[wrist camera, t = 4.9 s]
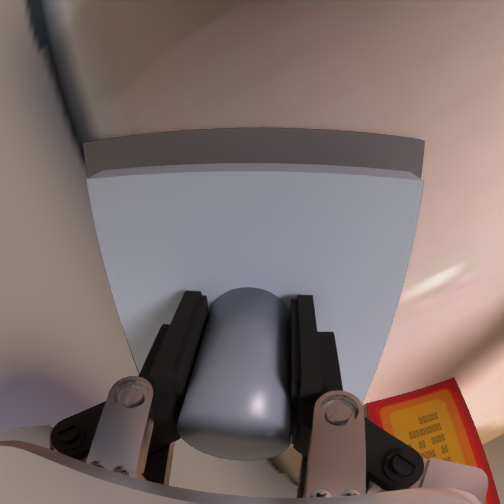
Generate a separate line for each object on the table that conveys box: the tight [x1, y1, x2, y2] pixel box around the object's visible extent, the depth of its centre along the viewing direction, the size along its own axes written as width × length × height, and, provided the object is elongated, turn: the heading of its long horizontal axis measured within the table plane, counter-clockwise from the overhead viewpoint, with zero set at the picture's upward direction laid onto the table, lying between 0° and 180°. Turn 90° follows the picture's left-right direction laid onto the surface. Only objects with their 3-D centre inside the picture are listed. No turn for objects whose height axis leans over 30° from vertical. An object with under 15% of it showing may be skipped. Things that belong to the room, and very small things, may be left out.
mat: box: [83, 128, 425, 372], centre depth 14 cm, size 14×14×1 cm
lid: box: [86, 163, 424, 461], centre depth 10 cm, size 11×11×6 cm
